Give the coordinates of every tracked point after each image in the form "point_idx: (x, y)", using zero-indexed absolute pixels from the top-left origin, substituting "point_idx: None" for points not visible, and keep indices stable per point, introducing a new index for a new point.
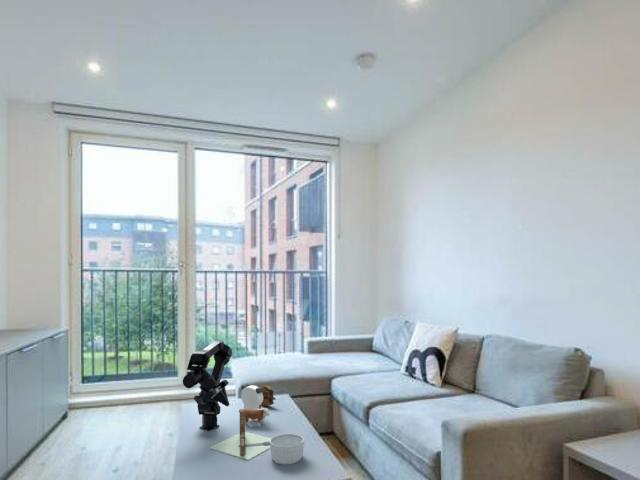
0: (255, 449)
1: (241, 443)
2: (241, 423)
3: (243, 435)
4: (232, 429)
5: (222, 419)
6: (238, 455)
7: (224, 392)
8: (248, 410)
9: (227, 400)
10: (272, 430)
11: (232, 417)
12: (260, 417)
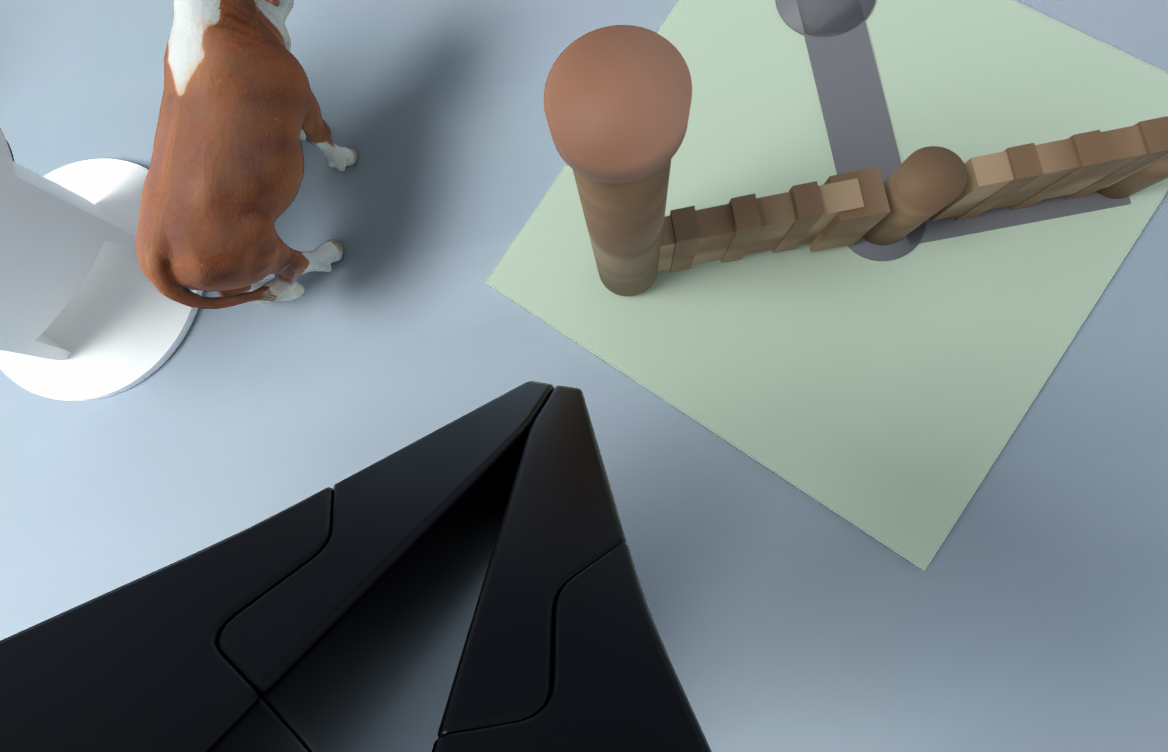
0: (967, 79)
1: (1120, 157)
2: (664, 214)
3: (863, 181)
4: (405, 418)
5: (103, 588)
6: (1128, 216)
7: (224, 738)
8: (186, 200)
9: (508, 439)
10: (470, 13)
11: (62, 484)
12: (306, 80)
